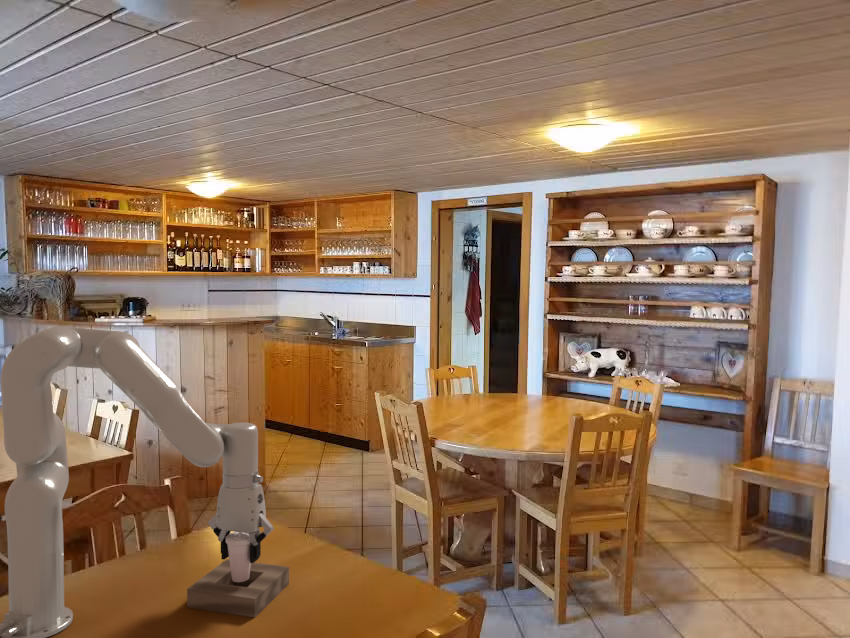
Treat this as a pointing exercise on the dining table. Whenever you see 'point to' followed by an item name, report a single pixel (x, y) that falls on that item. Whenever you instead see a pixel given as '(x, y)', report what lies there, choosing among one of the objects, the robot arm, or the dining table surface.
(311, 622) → the dining table surface
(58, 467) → the robot arm
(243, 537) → the smoothie
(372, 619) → the dining table surface
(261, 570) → the bottle stand
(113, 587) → the dining table surface
